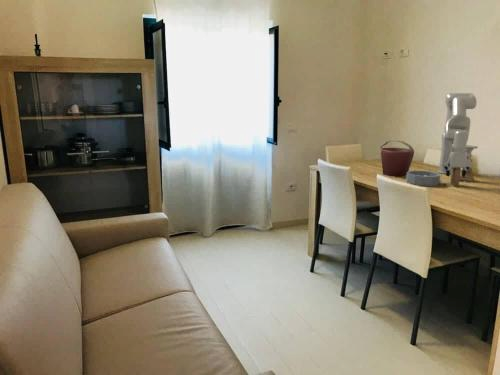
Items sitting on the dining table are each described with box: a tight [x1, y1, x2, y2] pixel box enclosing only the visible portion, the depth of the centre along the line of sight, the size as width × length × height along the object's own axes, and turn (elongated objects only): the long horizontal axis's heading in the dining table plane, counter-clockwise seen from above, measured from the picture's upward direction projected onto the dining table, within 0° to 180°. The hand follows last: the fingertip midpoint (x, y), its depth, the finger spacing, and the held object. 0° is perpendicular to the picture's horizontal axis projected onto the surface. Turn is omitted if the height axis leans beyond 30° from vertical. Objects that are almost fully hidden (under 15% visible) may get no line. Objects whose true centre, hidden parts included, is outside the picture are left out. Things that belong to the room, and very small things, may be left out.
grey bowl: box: [405, 169, 441, 187], centre depth 261 cm, size 20×20×6 cm
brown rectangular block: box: [449, 168, 462, 187], centre depth 254 cm, size 6×3×12 cm, turn 174°
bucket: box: [380, 140, 415, 178], centre depth 286 cm, size 24×22×25 cm
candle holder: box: [459, 144, 478, 183], centre depth 267 cm, size 11×11×24 cm
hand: (455, 176), depth 254 cm, fingers open, 9 cm apart
